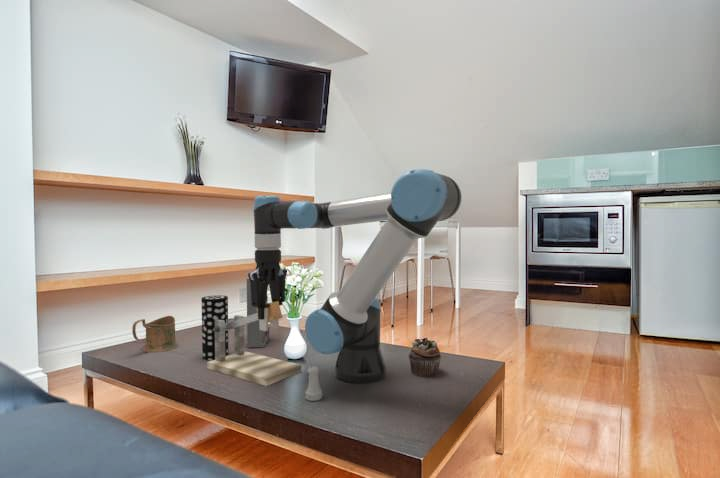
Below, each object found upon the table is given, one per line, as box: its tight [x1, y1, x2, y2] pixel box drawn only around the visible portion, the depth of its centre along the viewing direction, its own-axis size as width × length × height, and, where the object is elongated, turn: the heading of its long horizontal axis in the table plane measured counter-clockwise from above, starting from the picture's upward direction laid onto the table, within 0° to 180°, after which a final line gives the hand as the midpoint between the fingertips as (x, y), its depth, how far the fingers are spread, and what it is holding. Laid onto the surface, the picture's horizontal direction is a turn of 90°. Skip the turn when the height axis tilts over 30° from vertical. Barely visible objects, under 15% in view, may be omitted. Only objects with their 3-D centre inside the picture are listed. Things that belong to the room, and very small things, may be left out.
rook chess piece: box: [304, 364, 323, 402], centre depth 107 cm, size 4×4×8 cm
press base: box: [206, 315, 302, 387], centre depth 128 cm, size 26×14×14 cm, turn 56°
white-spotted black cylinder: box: [201, 294, 230, 361], centre depth 142 cm, size 8×8×20 cm
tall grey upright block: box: [246, 277, 270, 349], centre depth 159 cm, size 14×6×25 cm, turn 4°
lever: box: [225, 301, 283, 332], centre depth 129 cm, size 24×4×5 cm, turn 56°
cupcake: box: [408, 337, 442, 378], centre depth 126 cm, size 10×10×10 cm
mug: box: [131, 315, 179, 353], centre depth 150 cm, size 12×18×12 cm, turn 162°
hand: (269, 328), depth 124 cm, fingers closed on lever, 3 cm apart
